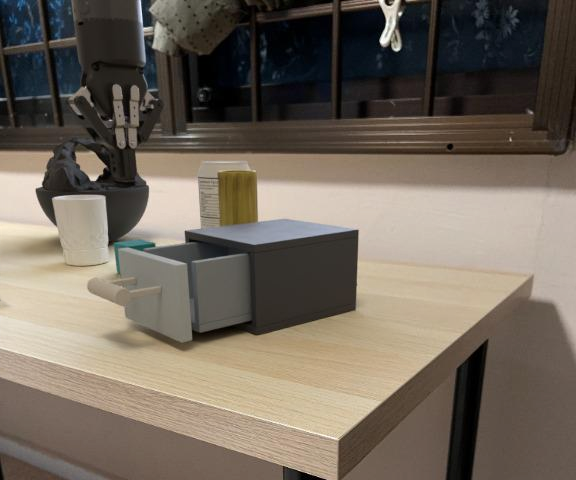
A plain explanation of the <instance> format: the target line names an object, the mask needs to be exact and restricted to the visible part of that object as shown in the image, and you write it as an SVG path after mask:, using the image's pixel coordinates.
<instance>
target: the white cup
mask: <svg viewBox="0 0 576 480" xmlns="http://www.w3.org/2000/svg"><path fill="white" fill-rule="evenodd" d="M52 202H53V207H54V212H55V217H56V223H57V227H56V229H57V232H58V233H57V234H58V236H59V241H60V246H61V248H62V253H63V261H64V263H65V265H69V266H80V267H86V266H96V265H102V264H106V263H108V262H109V261H110V252H109V246H108V245H109V241H108V224H107V211H106V197H105V196H102V195H69V196H59V197H54V198H52Z"/></svg>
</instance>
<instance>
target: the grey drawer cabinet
mask: <svg viewBox="0 0 576 480" xmlns="http://www.w3.org/2000/svg"><path fill="white" fill-rule="evenodd" d="M359 231H360V230H359V229H358V228H352V227H344V226H337V225H331V224H325V223H324V224H323V223H318V222H310V221H303V220H296V219H290V218H279V219H271V220H262V221H261V220H260V221H258V222H253V223H244V224H236V225H228V226H219V227H211V228H202V229H201V228H196V229H195V228H194V229H187V230H186V229H185V230H184V243H189V242H197V241H202V242H207V243H211V244H216V245H220V246H225V247H229V248H234V249H238V250H243V251H248V252H250V278H251V311H252V320H251V321H247V322H243V323H239V324H235V325H230V326H231V327H234V328H236V329H239V330H242V331H244V332H247V333H250V334H252V335H255V336H259V335H263V334H267V333H270V332H275V331H278V330H279V331H280V330H282V329H285V328H289V327H293V326H299V325H302V324H305V323H309V322H313V321H318V320H320V319H321V320H322V319H324V318H328V317H332V316H335V315H340V314H344V313H347V312H350V311H355V310H356V309H357V293H358V292H357V290H358V289H357V287H358V260H359V235H360V233H359Z"/></svg>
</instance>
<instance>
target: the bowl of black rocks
mask: <svg viewBox="0 0 576 480" xmlns="http://www.w3.org/2000/svg"><path fill="white" fill-rule="evenodd" d="M78 145H81V146H83V147H84V148H86V149H87V150H90V151H91V152H93V153H94V154H95V155H96V156H97V158H98V160H100V161H101V162H102V164H103V165H105V167H104V168H103V169H102V173H100V174H99V175H98V176H97V178H96V180H91V179H90V176H89V175H88V174H87V173H86V172H85V171H84V170H83V169H81V165H80V164H79V163H77V155H76V151H77V146H78ZM103 149H104V150H103ZM52 153H53V156H51V157H49V159H48V161H47V163H46V167H45V169H46V171H44V176H43V180H42V182H41V186H40V187H35V189H34V190H35V195H36V198H37V201H38V203H39V207H40V208H41V210H42V212H43V213H44V214H45V216H46V218H48V220H49V221H50V222H51V223H52V224H53V225H54V226H55V227H56V228H57V223H56V217H55V212H54V207H53V202H52V198H54V197H59V196H69V195H102V196H105V197H106V211H107V224H108V242H111V241H115V240H118V239H120V238H122V237H124V236H126V235H128V233H130V232H131V231H132V230H133V229H134V228H135V227H136V226H137V225H138V224H139V222H141V220H142V218H143V216H144V214H145V212H146V209H147V207H148V203H149V199H150V198H149V197H150V186H149V184H147V180H145V179H143V178H142V177H141V175H140V174H139V172H138V171H137V175H136V176H135V180H134V181H130V182H117V181H116V180H115V177H113V175H112V173H111V166H110V157H109V150H108V148H107V147H106V146H105V145H102V144H100V143H94V142H93V140H92V139H91V138H90V136H89V135H87V136H86V138H85V139H84V138H82V137H81V136H79V135H72V136H70V137H68V138H67V139H66V140H64V141H63V142H61V143H59V144H57V145H55V147H53V149H52Z"/></svg>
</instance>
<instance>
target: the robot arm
mask: <svg viewBox="0 0 576 480" xmlns="http://www.w3.org/2000/svg"><path fill="white" fill-rule="evenodd" d="M70 1H71V8H72V10H71V11H72V17H73V26H74V27H73V28H74V34H75V43H76V50H77V58H78V63H79V64H80V66H81V69H82V72H81V76H80V81H79V85H80V88H78V90H77V91H76V92H75V93H74V94H73V95H71V96H66V97H65V99H64V103H65V105H66V107H67V108H68V110H69V111H70V112H71V114H72V115H73V116H74V118H75V120H77V122H78V123H79V124H80V126H81V128H82V129H83V130H84V131H85V133H86V134H87V136H90V138H91V139H92V140H93V142H94V143H100V144H102V145H105V146H106V147H107V148H108V150H109V157H110V166H111V173H112V175H113V177H115V180H116V181H117V182H130V181H134V180H135V176H136V175H137V172H138V167H137V157H136V148H137V146H139V145H141V144H143V143H147V142H148V140H149V139H150V136H151V134H152V133H153V131H154V128H155V126H156V125H157V122H158V120H159V118H160V116H161V114H162V111H163V109H164V107H165V103H164V101H163V100H162V99H161V98H155V96H153V95H152V94H151V92H149V91H148V90H149V89H148V87H149V86H148V82H147V80H146V78H145V75H144V69H145V66H146V64H147V59H146V48H145V47H146V45H145V36H144V34H145V33H144V24H143V13H142V1H141V0H70ZM111 118H112V119H111Z"/></svg>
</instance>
